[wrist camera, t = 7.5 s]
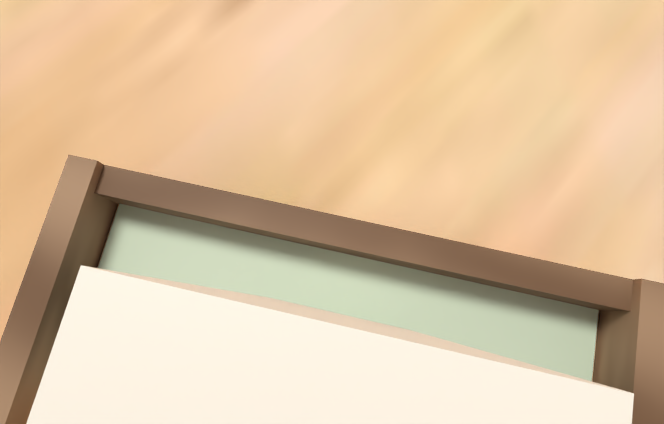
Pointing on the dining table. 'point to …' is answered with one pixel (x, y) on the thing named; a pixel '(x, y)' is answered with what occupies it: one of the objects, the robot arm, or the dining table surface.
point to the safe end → (355, 288)
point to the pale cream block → (281, 366)
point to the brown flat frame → (322, 232)
